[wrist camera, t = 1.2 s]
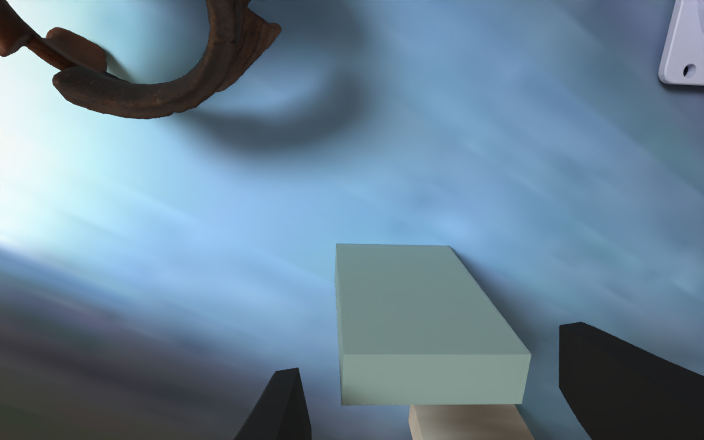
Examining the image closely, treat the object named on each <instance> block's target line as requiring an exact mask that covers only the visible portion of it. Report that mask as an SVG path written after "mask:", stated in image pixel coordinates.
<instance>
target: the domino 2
mask: <svg viewBox="0 0 704 440" xmlns="http://www.w3.org/2000/svg"><path fill="white" fill-rule="evenodd" d="M409 425H410V430H411V434H412V438H413V440H535V439H534V437H533V435H532V434H531V432H530V430H529V429H528V427H527V425H526V423H525V422H524V420H523V418H522V417H521V415H520V413H519V412H518V410H517V408H516V406H515V405H514V404H458V405H410V411H409Z"/></svg>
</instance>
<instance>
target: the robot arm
mask: <svg viewBox="0 0 704 440" xmlns="http://www.w3.org/2000/svg"><path fill="white" fill-rule="evenodd" d="M686 66H687V67H688V72H687V74H686V76H684V75H683V70H684V68H685V67H686ZM658 76H659V78H660V80H661V81H662V82H663V83H666V84H681V85H701V86H704V0H676V2H675V6H674V10H673V14H672V18H671V22H670V26H669V30H668V34H667V38H666V42H665V46H664V51H663V55H662V59H661V63H660V67H659V73H658ZM559 388H560V390H561V392H562V394H563V395H564V397H565V399H566V401H567V402H568V404H569V406H570V408H571V409H572V411H573V413H574V414H575V416H576V418H577V419H578V421H579V422H580V424H581V425H582V427H583V428H584V429H585V431H586V432H587V433H588V435H589V436H590V437H591V439H592V440H704V376H702V375H700V374H697V373H695V372H692V371H690V370H687V369H685V368H683V367H680V366H678V365H676V364H674V363H671V362H669V361H667V360H665V359H662V358H660V357H658V356H656V355H653V354H651V353H649V352H647V351H645V350H643V349H640V348H638V347H636V346H634V345H632V344H630V343H628V342H626V341H623V340H621V339H619V338H617V337H615V336H613V335H611V334H608V333H606V332H604V331H602V330H600V329H598V328H595V327H593V326H591V325H588V324H586V323H583V322H578V323H571V324H565V325H560V327H559ZM234 440H312V436H311V424H310V419H309V415H308V410H307V406H306V401H305V396H304V392H303V387H302V382H301V378H300V373H299V368H292V369H286V370H280V371H276V372H275V373H274V374H273V376H272V378H271V379H270V381H269V383H268V385H267V387H266V388H265V390H264V392H263V394H262V395H261V397H260V399H259V400H258V402H257V404H256V406H255V407H254V409H253V410H252V412H251V414H250V415H249V417H248V418H247V420H246V422H245V423H244V425H243V426H242V428H241V429H240V431H239V432H238V434H237V435H236V437H235V438H234Z"/></svg>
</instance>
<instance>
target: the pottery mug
mask: <svg viewBox="0 0 704 440" xmlns="http://www.w3.org/2000/svg"><path fill="white" fill-rule="evenodd" d="M250 1H251V0H206V5H207V9H208V18H209V24H210V32H209V39H208V43H207V46H206V50H205V52H204V54H203V57H202V58H201V60H200V61H199V63H198V64H197V65H196V66H195V67H194V68H193V69H192V70H191V71H190V72H189V73H187V74H186V75H184V76H183V77H181V78H179V79H176V80H174V81H171V82H165V83H159V84H151V85H147V84H133V83H130V82H128V81H125V80H123V79H120V78H118V77H117V76H115V75H112V74H110V73H108V72H106V71H107V62H106V54H105V52H104V50H103V49H102V48H101V47H99V46H98V45H97V44H95V43H93V42H91V41H89V40H87V39H86V38H84V37H82V36H80V35H77V34H75V33H73V32H71V31H69V30H66V29H63V28H60V27H55V28H53V29H51V30H49V32H48V33H47V36H46V38H42V37H41V36H40V35H38V34H37V33H36V32H35V31H34V30H33V29H32V28H31V27H30V26H29V25H28V24H27V23H25V22H24V21H23V20H22V19H21V18H20V16H19V15H18V14H17V13H16V12H15V11H14V10H13V9H12V7H11V6H10V5H9V3H8V2H7V1H6V0H0V56H2V57H6V56H8V55H10V54H13V53H15V52H16V51H18V50H19V49H20V48H21V47H22V46H26V47H27V48H28V49H30V50H31V51H33V52H34V53H35V54H36V55H37V56H39V57H40V58H41V59H43V60H44V61H46V62H47V63H49V64H50V65H52V66H54V67H55V68H57V69H59V70H61V71H60V72H58V73H57V74H55V75H54V76H53V79H52V82H53V85H54V86H55V88H56V89H57V90H58V91H59V92H60V93H61V95H62V96H63V97H64V98H65V99H66V100H67V101H69V102H71V103H73V104H75V105H77V106H81V107H84V108H87V109H89V110H93V111H96V112H99V113H103V114H110V115H115V116H119V117H124V118H134V119H152V118H160V117H165V116H170V115H172V114H173V113H174V112H176V113H181V112H184V111H186V110H188V109H192V108H196V107H197V106H198V105H199V104H200V103H202V102H203V101H205V100H207V99H208V98H209V97H210V96H212V95H213V94H214V93H215V92H220V91H223V90H225V89H227V88H228V87H229V86H230V85H232V84H234V83H235V82H236V81H237V80H238V79H239V77H240V76H242V75H243V74H244V73H245V71H246V70H247V69H248V68H249V67H250V66H251V65H252V64H253V63H254V62H255V61H256V60H257V59H258V58H259V57H260V56H261V55H262V53H263V52H264V51H265V50H266V49H268V48H269V47H270V46H271V44H272V43H273V42H274V40H275V39H276V38H277V36H278V35H279V34H280V32H281V27H280V25H279V24H276V23H268V22H266V21H265V20H264V19H263V18H261V17H259V16H258V15H256V14H255V13H254V12H253V11H251V10H250V9H249V8H248V7H247V6H248V3H249V2H250Z"/></svg>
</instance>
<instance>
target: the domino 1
mask: <svg viewBox="0 0 704 440" xmlns="http://www.w3.org/2000/svg"><path fill="white" fill-rule="evenodd" d="M335 288H336V308H337V327H338V346H339V365H340V385H341V404H342V405H458V404H522V400H523V395H524V390H525V385H526V380H527V375H528V369H529V364H530V359H531V353H530V352H529V351H528V349H527V348H526V347H525V345H524V344H523V343H522V341H521V340H520V339H519V338H518V336H517V335H516V334H515V332H514V331H513V330H512V328H511V327H510V326H509V324H508V323H507V322H506V320H505V319H504V318H503V316H502V315H501V314H500V313H499V311H498V310H497V309H496V307H495V306H494V305H493V303H492V302H491V301H490V299H489V298H488V297H487V295H486V294H485V293H484V291H483V290H482V289H481V288H480V286H479V285H478V284H477V282H476V281H475V280H474V278H473V277H472V276H471V274H470V273H469V272H468V270H467V269H466V268H465V266H464V265H463V264H462V263H461V261H460V260H459V259H458V257H457V256H456V255H455V253H454V252H453V251H452V249H451V248H450V247H449V246H433V245H380V244H336V260H335Z"/></svg>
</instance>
